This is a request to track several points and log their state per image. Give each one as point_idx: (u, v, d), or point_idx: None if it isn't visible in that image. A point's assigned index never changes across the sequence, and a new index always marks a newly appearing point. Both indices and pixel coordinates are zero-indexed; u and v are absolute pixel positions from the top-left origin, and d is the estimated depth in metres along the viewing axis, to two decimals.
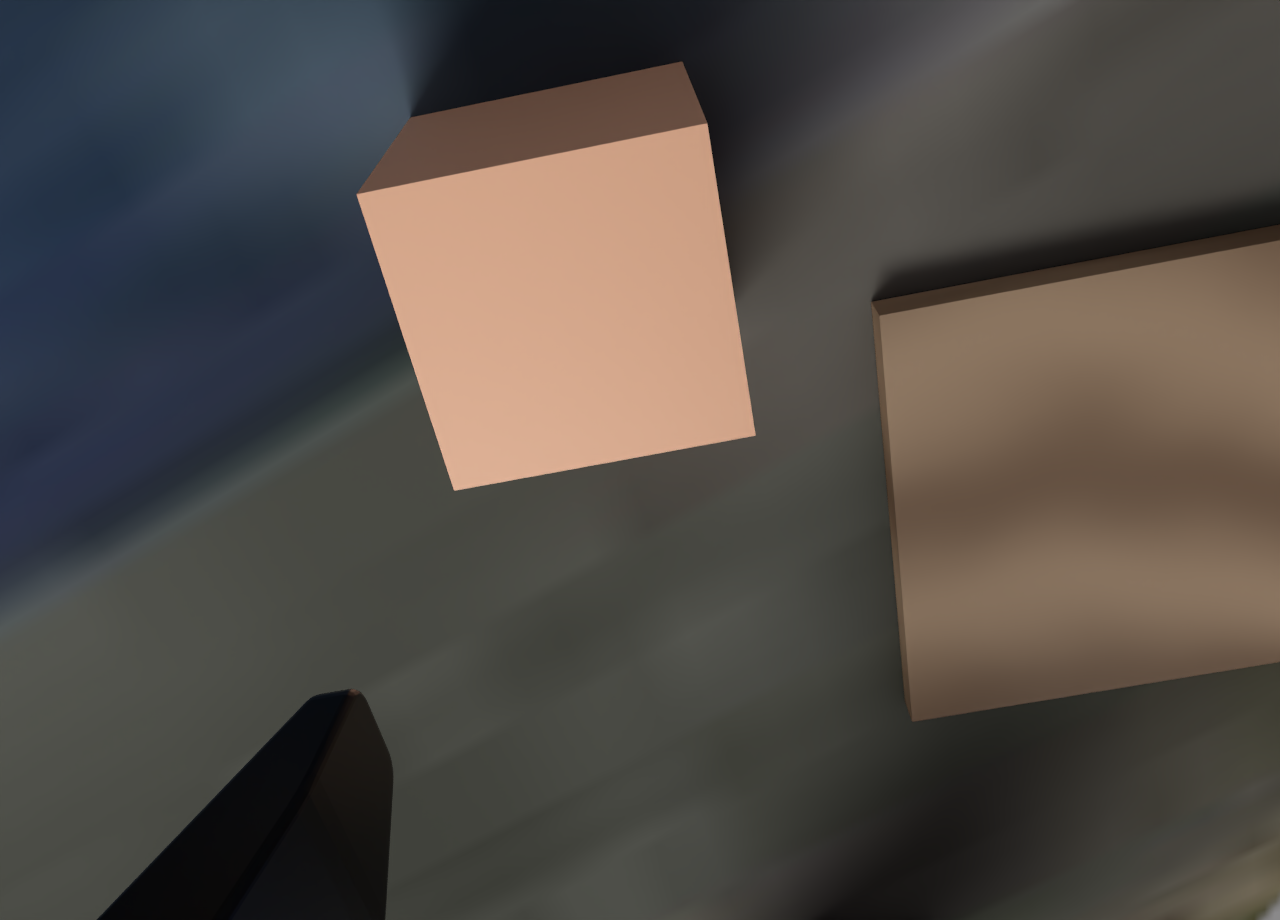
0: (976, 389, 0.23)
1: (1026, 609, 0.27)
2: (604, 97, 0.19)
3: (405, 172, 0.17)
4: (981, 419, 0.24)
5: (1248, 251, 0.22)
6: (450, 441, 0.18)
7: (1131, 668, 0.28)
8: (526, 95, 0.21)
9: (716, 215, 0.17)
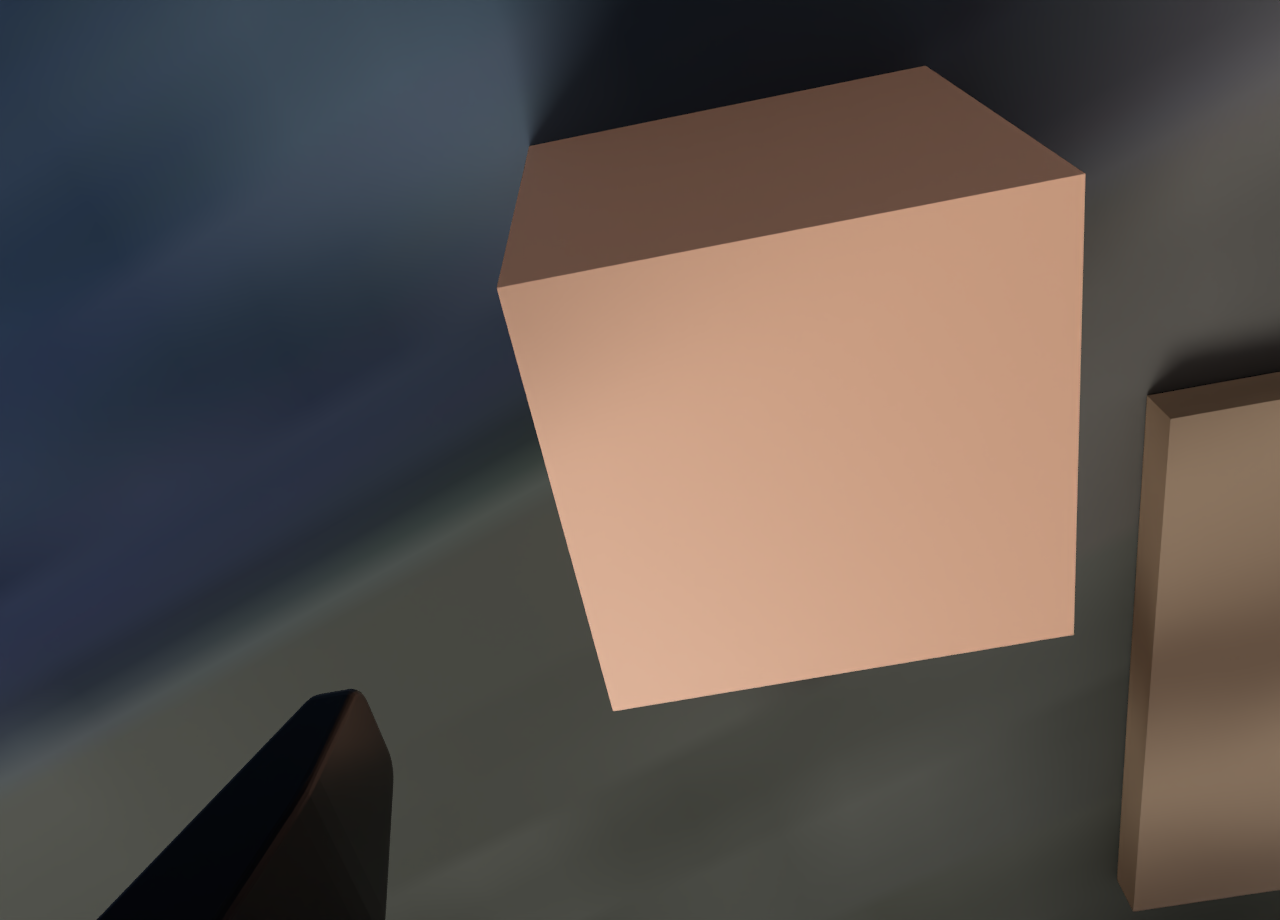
0: None
1: None
2: (838, 121, 0.13)
3: (566, 247, 0.11)
4: None
5: None
6: (614, 646, 0.12)
7: None
8: (699, 114, 0.14)
9: (1073, 318, 0.10)
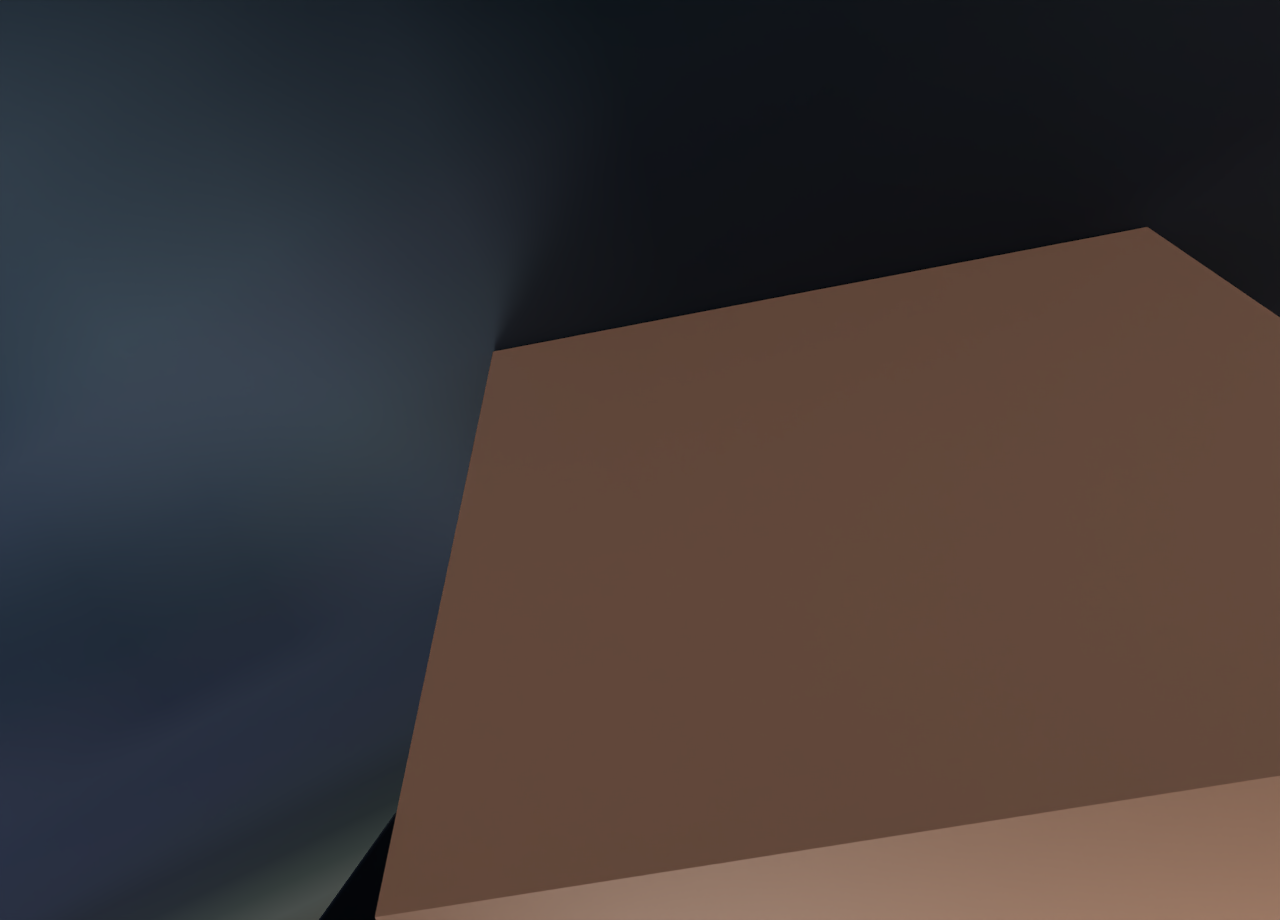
0: None
1: None
2: (1044, 366, 0.07)
3: (543, 745, 0.05)
4: None
5: None
6: None
7: None
8: (773, 310, 0.09)
9: None
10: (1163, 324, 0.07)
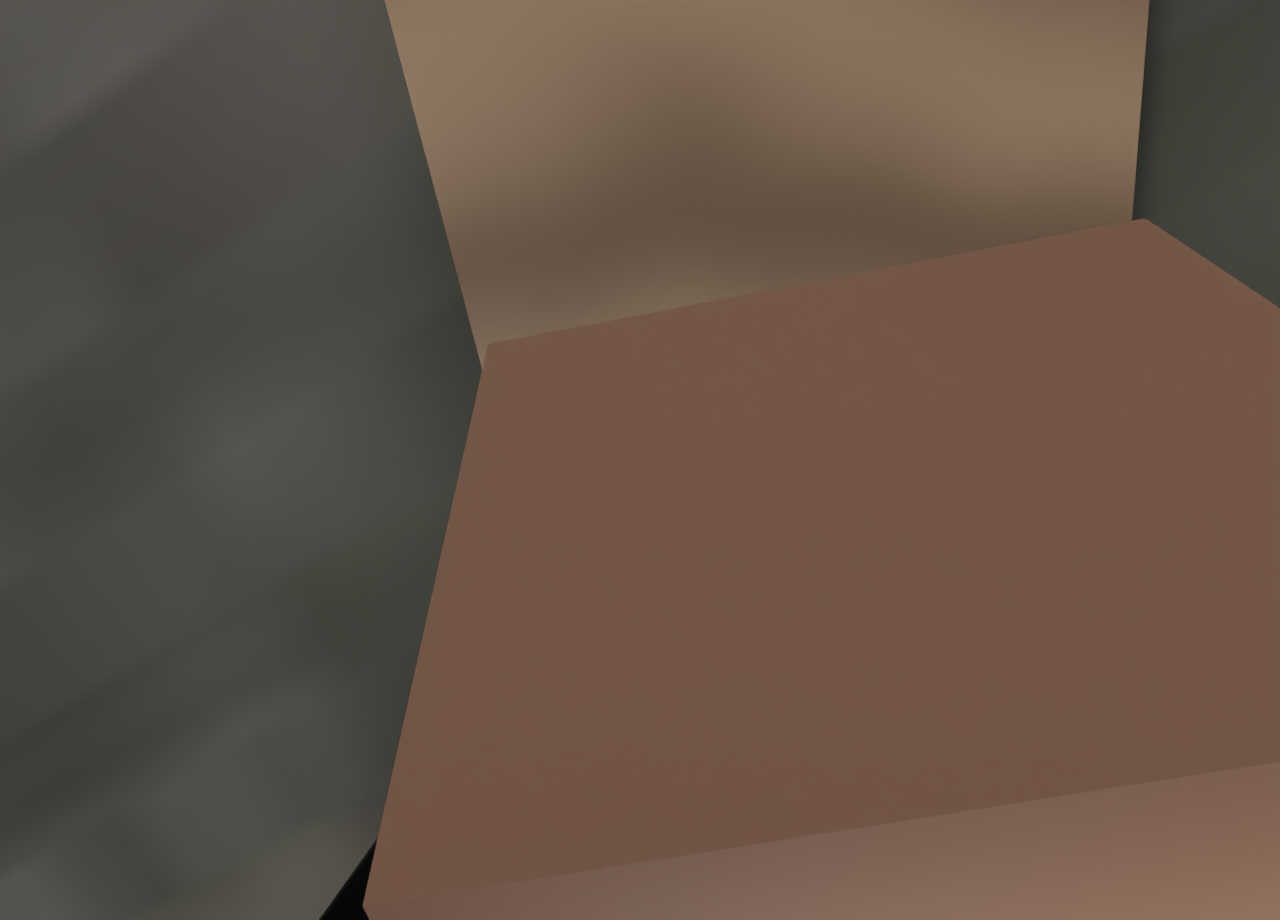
0: (530, 75, 0.17)
1: None
2: (1041, 356, 0.07)
3: (533, 734, 0.05)
4: (545, 124, 0.18)
5: None
6: None
7: None
8: (769, 302, 0.09)
9: None
10: (1160, 314, 0.07)
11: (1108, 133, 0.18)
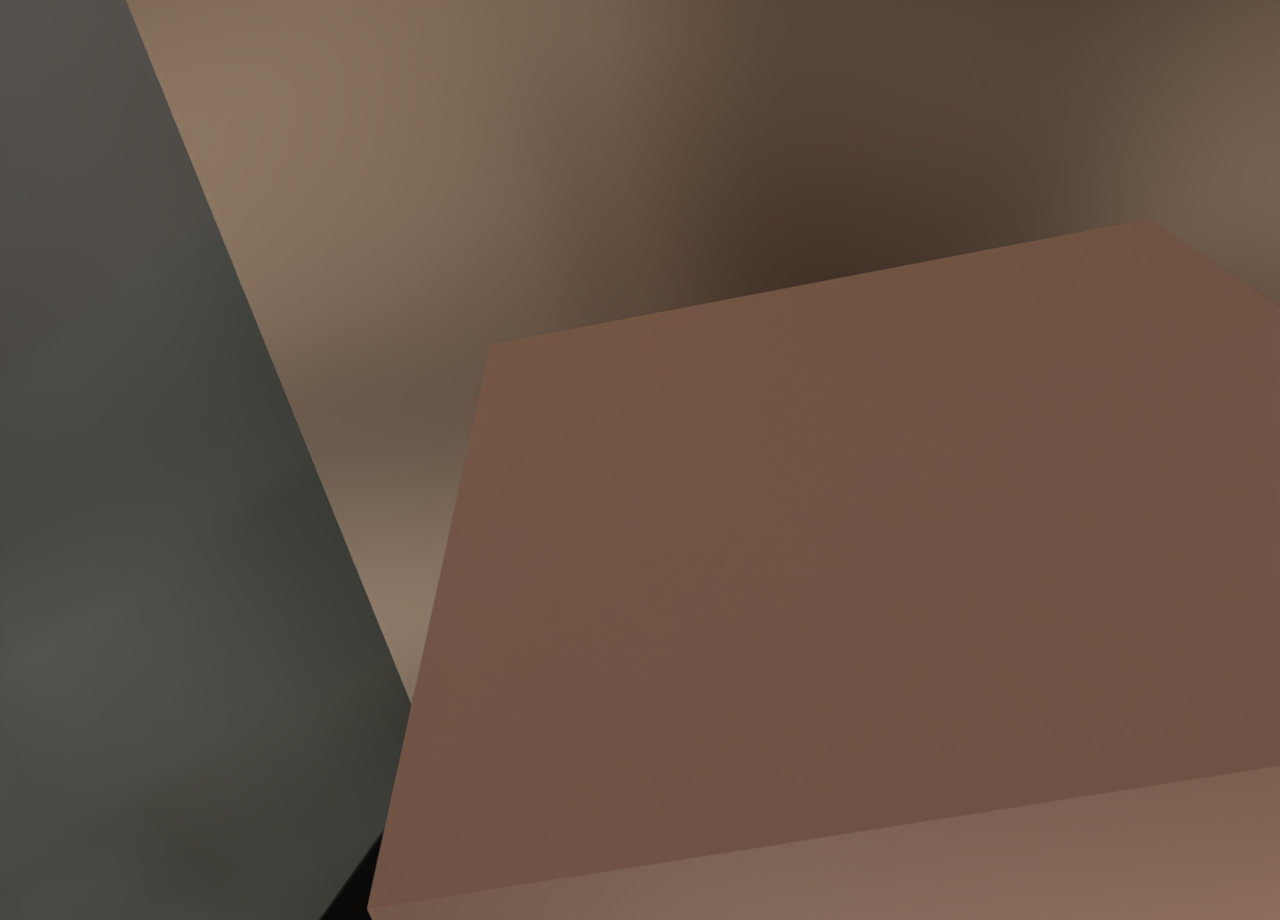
0: (381, 153, 0.11)
1: None
2: (1045, 357, 0.07)
3: (538, 736, 0.05)
4: (412, 222, 0.12)
5: None
6: None
7: None
8: (772, 303, 0.09)
9: None
10: (1164, 315, 0.07)
11: (1260, 210, 0.12)
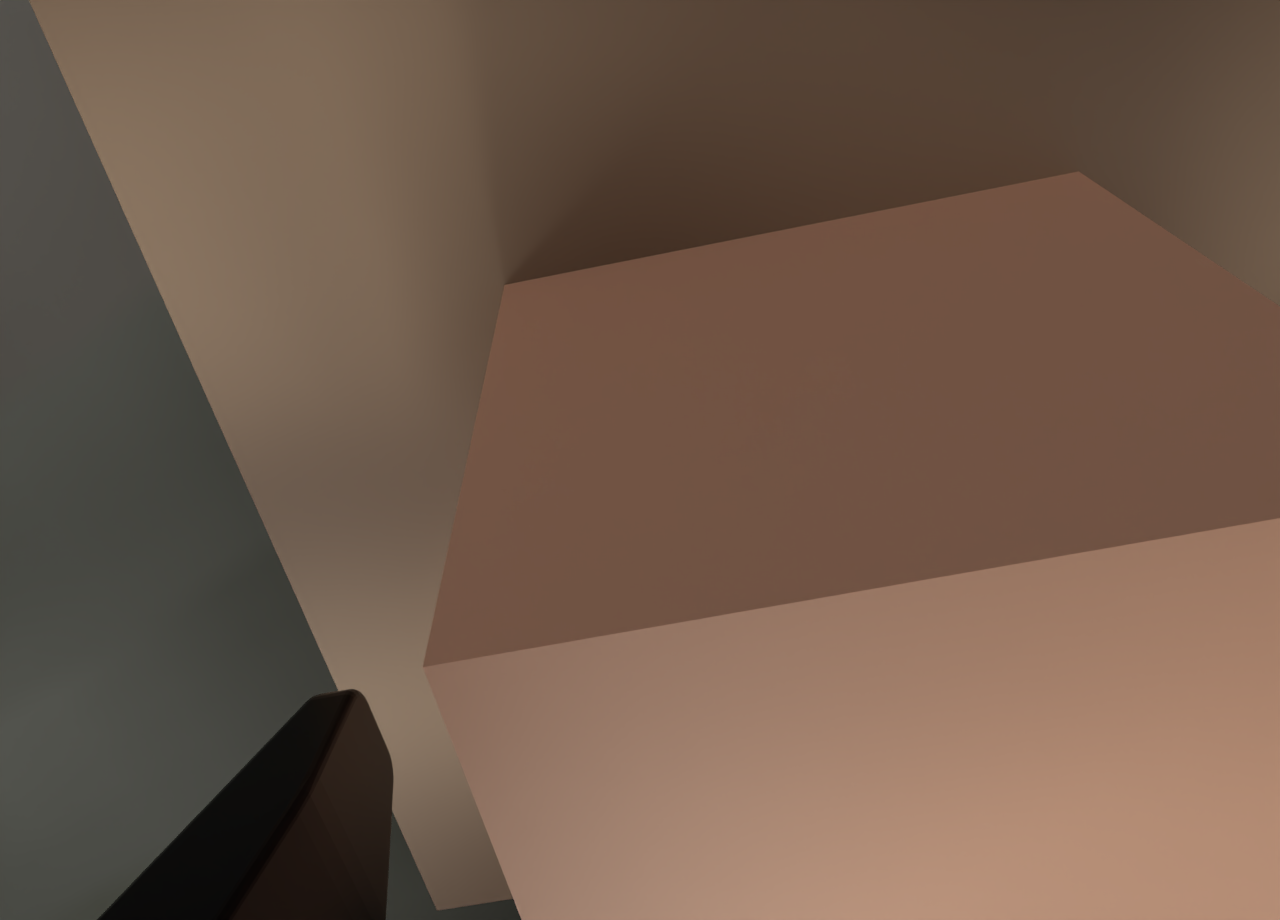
0: (346, 206, 0.10)
1: None
2: (977, 280, 0.08)
3: (551, 555, 0.06)
4: (383, 285, 0.10)
5: None
6: None
7: None
8: (750, 245, 0.10)
9: None
10: (1080, 245, 0.08)
11: None
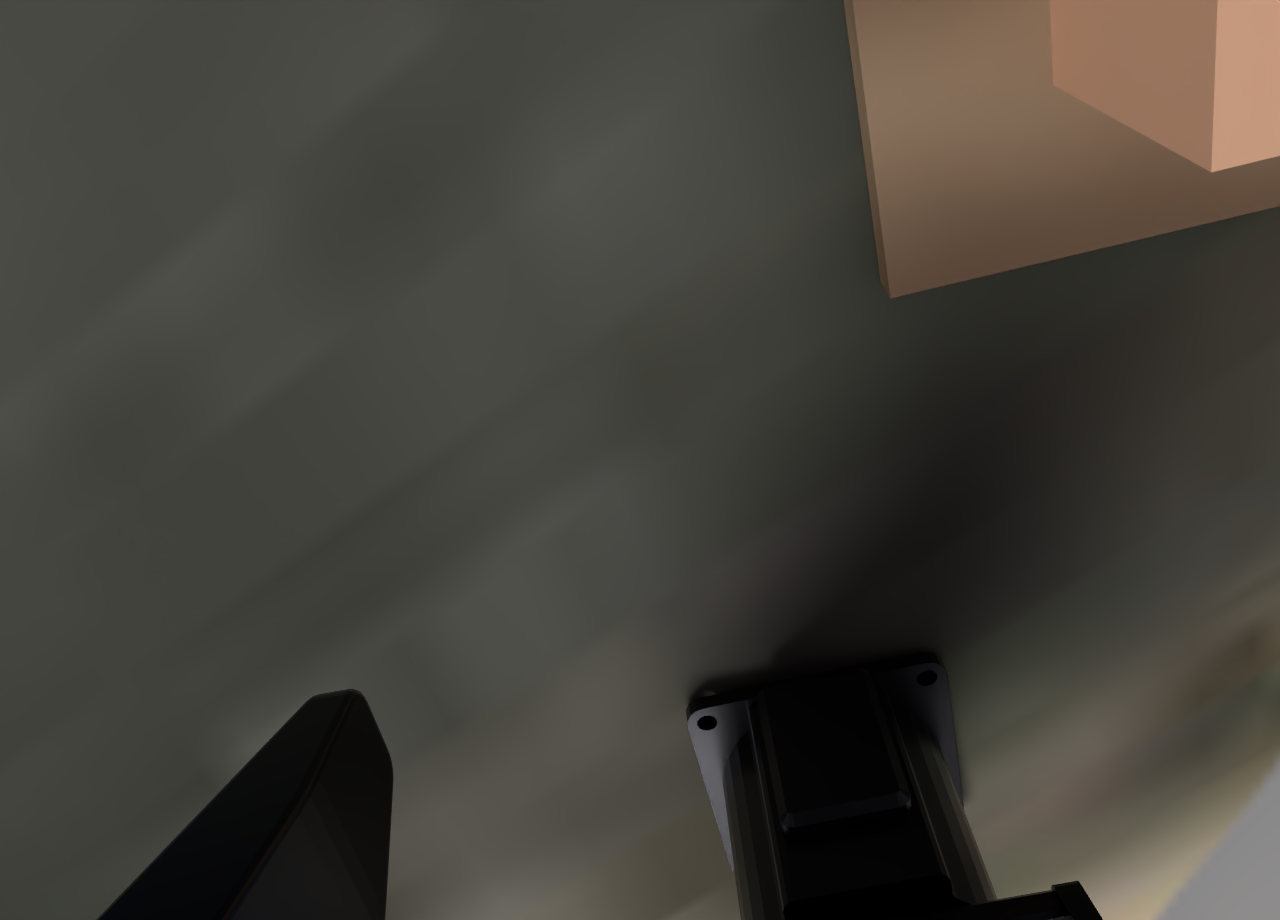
0: None
1: (1043, 89, 0.18)
2: None
3: None
4: None
5: None
6: (1232, 91, 0.13)
7: (1198, 193, 0.20)
8: None
9: None
10: None
11: None
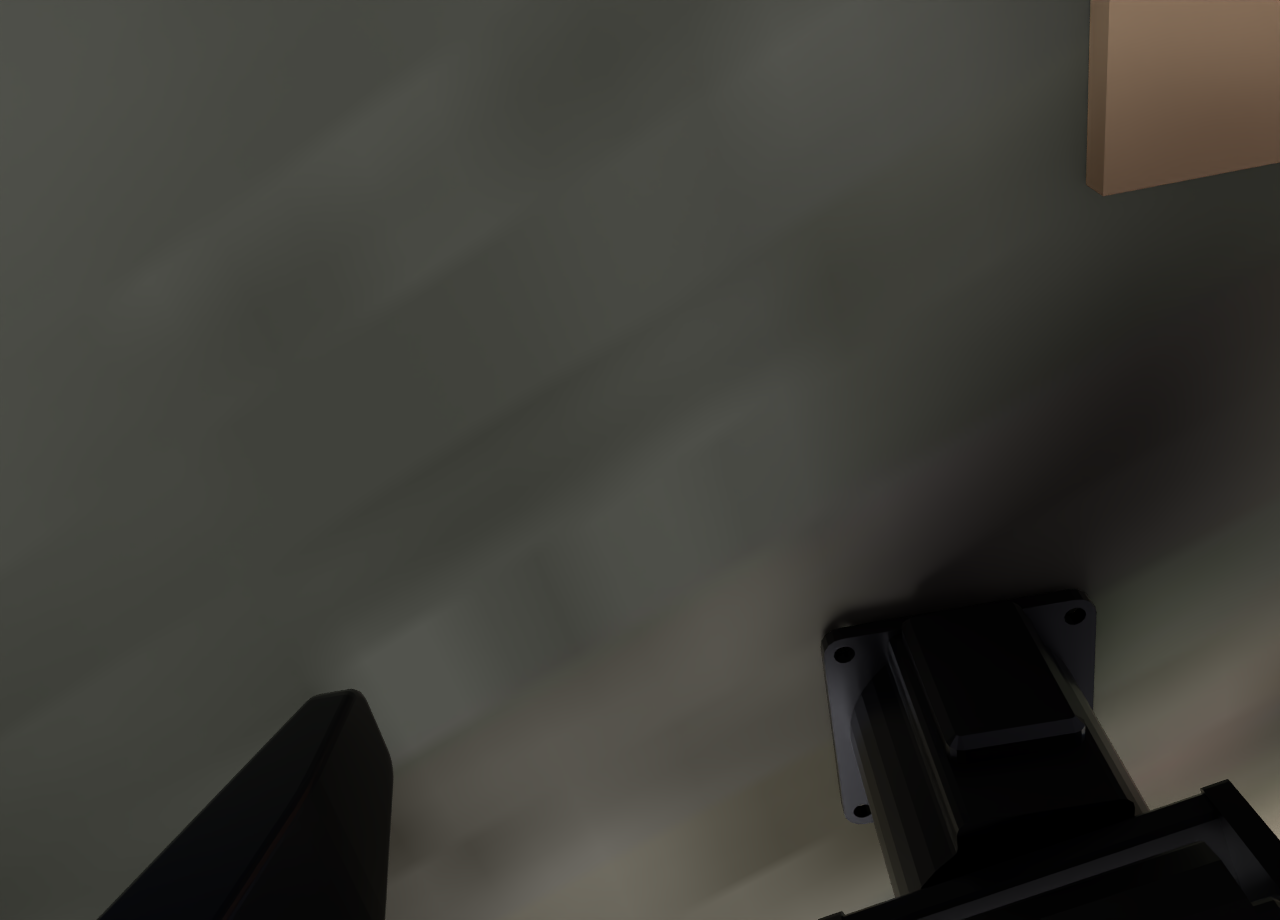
0: None
1: None
2: None
3: None
4: None
5: None
6: None
7: None
8: None
9: None
10: None
11: None
